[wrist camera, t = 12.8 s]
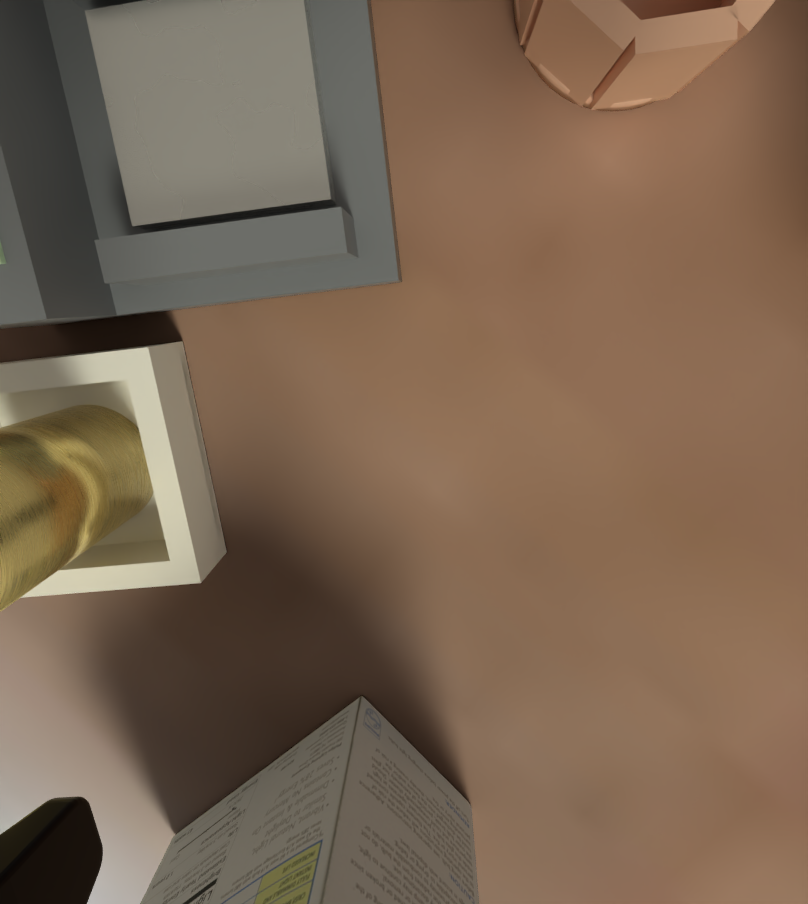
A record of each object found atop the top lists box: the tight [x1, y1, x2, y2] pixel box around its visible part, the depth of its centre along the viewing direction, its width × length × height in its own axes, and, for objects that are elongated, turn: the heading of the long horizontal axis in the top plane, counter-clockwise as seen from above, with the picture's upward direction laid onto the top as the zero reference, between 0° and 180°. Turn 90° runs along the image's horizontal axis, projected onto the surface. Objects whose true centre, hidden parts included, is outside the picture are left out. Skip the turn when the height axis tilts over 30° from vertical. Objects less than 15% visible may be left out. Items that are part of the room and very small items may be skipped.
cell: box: [0, 404, 154, 612], centre depth 15 cm, size 4×4×8 cm
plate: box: [85, 0, 336, 230], centre depth 14 cm, size 5×5×1 cm
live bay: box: [0, 341, 227, 598], centre depth 18 cm, size 7×7×2 cm
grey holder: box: [0, 0, 402, 329], centre depth 14 cm, size 11×9×5 cm
